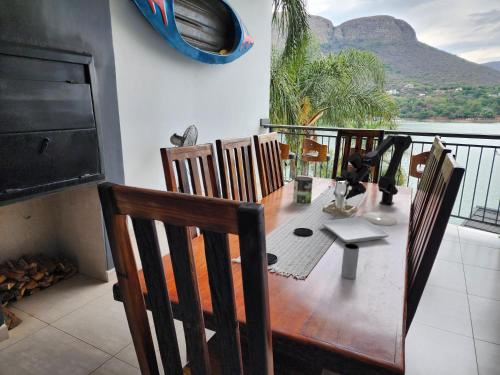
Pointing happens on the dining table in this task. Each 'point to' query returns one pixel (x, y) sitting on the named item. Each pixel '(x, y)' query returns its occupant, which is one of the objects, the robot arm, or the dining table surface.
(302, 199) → the coffee can
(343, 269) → the planter
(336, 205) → the steel cup
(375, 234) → the salad plate
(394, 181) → the robot arm
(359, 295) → the dining table surface
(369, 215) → the white flat disc
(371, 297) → the dining table surface
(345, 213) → the beech frame
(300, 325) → the dining table surface
